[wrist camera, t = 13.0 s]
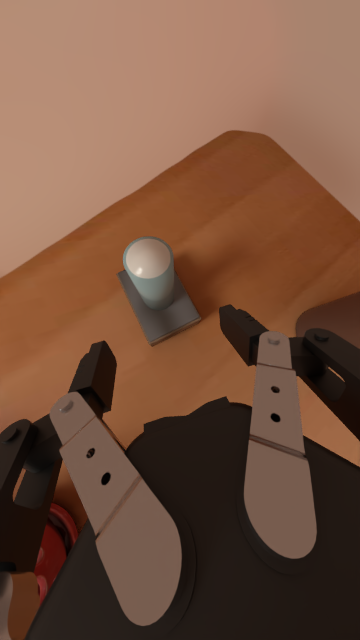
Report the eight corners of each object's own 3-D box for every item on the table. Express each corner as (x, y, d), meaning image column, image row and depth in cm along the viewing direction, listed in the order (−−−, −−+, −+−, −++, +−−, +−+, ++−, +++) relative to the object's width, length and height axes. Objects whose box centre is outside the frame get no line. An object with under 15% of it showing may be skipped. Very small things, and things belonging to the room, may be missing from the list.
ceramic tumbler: (165, 275, 27) (160, 229, 17) (179, 301, 26) (182, 268, 16) (137, 288, 27) (114, 247, 17) (150, 315, 26) (135, 289, 16)
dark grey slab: (166, 263, 32) (165, 250, 28) (198, 323, 30) (202, 317, 26) (122, 283, 31) (114, 272, 27) (152, 346, 29) (148, 344, 25)
